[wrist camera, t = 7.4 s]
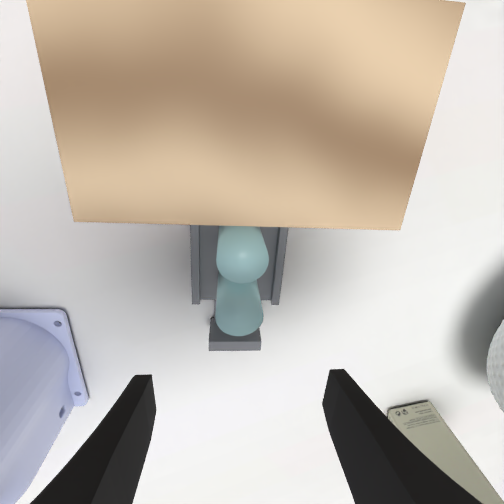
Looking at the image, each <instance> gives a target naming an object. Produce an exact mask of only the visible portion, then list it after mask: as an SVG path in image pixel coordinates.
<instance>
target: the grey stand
mask: <svg viewBox="0 0 504 504" xmlns="http://www.w3.org/2000/svg"><path fill="white" fill-rule="evenodd" d="M287 234H288V227H257V226H219V225H190V237H191V277H192V304H200V299H209V300H215V318H211V322H210V334H209V351H250V350H261V336H260V330H259V326H260V325H261V323H262V321H263V310H262V305H261V300H271V304H272V305H279V299H280V291H281V283H282V275H283V267H284V259H285V251H286V242H287Z"/></svg>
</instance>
